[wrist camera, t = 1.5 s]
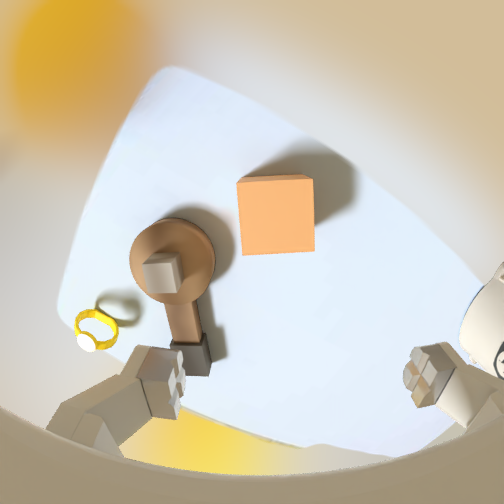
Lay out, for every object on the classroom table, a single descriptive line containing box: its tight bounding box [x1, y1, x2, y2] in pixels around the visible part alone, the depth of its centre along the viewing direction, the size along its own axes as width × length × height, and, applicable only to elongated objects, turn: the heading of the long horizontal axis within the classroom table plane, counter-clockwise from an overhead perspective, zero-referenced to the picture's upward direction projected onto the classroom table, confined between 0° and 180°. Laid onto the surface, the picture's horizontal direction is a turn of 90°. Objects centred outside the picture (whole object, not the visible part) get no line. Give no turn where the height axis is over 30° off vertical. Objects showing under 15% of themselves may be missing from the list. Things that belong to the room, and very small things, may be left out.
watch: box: [74, 309, 119, 352], centre depth 31 cm, size 6×3×6 cm, turn 61°
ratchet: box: [129, 218, 215, 376], centre depth 29 cm, size 9×20×6 cm, turn 4°
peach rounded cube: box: [236, 174, 315, 255], centre depth 25 cm, size 6×6×6 cm
